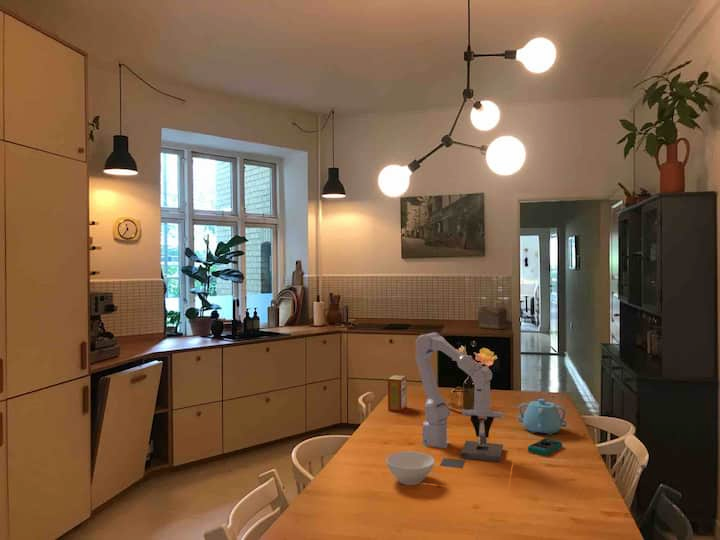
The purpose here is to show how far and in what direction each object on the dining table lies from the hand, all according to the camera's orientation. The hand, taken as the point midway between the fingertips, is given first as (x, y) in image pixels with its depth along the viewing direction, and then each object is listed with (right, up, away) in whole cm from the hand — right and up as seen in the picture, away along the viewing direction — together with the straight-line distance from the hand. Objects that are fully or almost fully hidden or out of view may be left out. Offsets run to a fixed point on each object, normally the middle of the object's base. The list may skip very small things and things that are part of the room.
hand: (482, 436), depth 202 cm
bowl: (-29, -8, -24) cm, 38 cm away
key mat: (-13, -7, -9) cm, 17 cm away
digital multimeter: (+25, -8, +6) cm, 27 cm away
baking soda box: (-27, -7, +65) cm, 71 cm away
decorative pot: (+32, -7, +29) cm, 44 cm away
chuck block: (0, -7, 0) cm, 7 cm away
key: (0, -2, 0) cm, 2 cm away
